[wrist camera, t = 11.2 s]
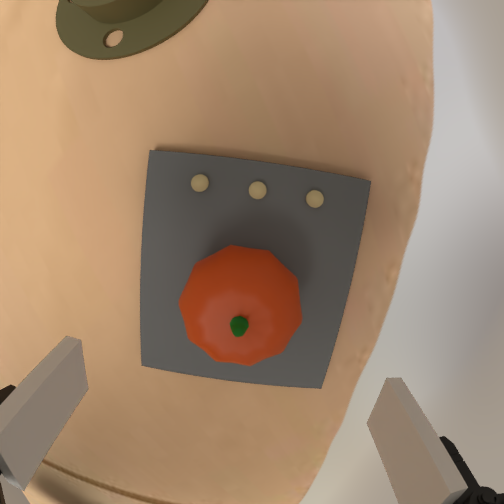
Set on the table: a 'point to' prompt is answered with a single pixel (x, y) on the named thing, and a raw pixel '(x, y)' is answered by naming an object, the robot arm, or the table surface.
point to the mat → (250, 236)
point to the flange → (121, 24)
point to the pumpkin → (241, 305)
